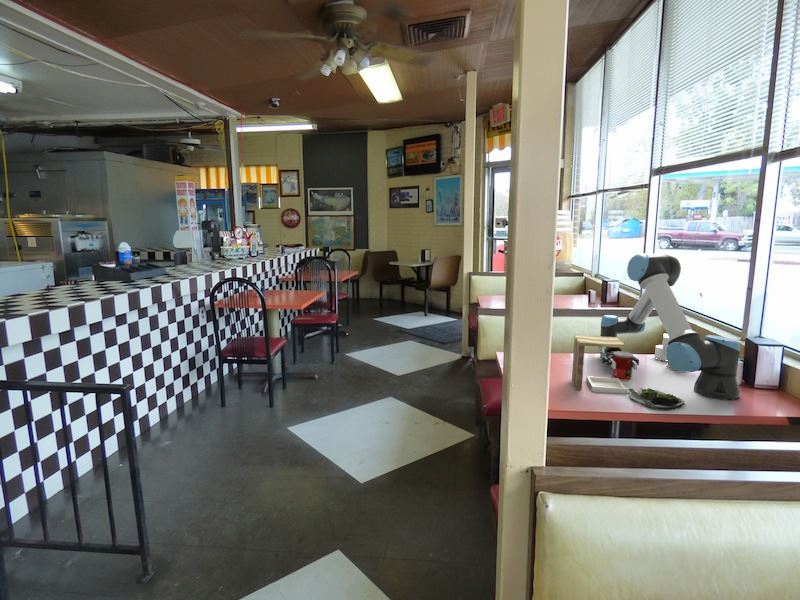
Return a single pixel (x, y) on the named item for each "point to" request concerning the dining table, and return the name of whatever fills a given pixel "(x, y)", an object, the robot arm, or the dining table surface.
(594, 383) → the shallow square white tray
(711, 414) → the dining table surface
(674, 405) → the salad plate
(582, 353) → the wooden l-shaped stand
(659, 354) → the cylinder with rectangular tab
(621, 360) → the canned food
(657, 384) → the dining table surface
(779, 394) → the dining table surface
